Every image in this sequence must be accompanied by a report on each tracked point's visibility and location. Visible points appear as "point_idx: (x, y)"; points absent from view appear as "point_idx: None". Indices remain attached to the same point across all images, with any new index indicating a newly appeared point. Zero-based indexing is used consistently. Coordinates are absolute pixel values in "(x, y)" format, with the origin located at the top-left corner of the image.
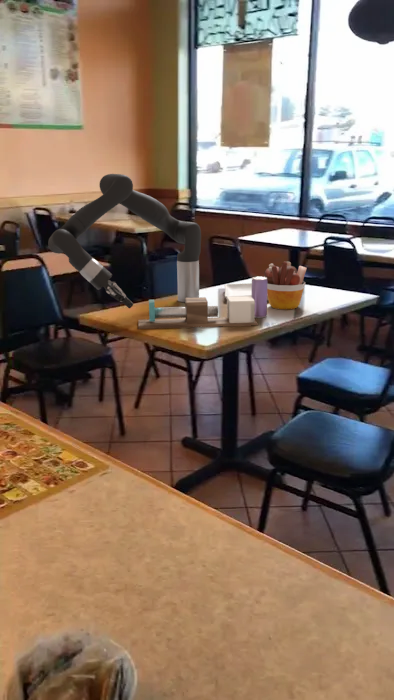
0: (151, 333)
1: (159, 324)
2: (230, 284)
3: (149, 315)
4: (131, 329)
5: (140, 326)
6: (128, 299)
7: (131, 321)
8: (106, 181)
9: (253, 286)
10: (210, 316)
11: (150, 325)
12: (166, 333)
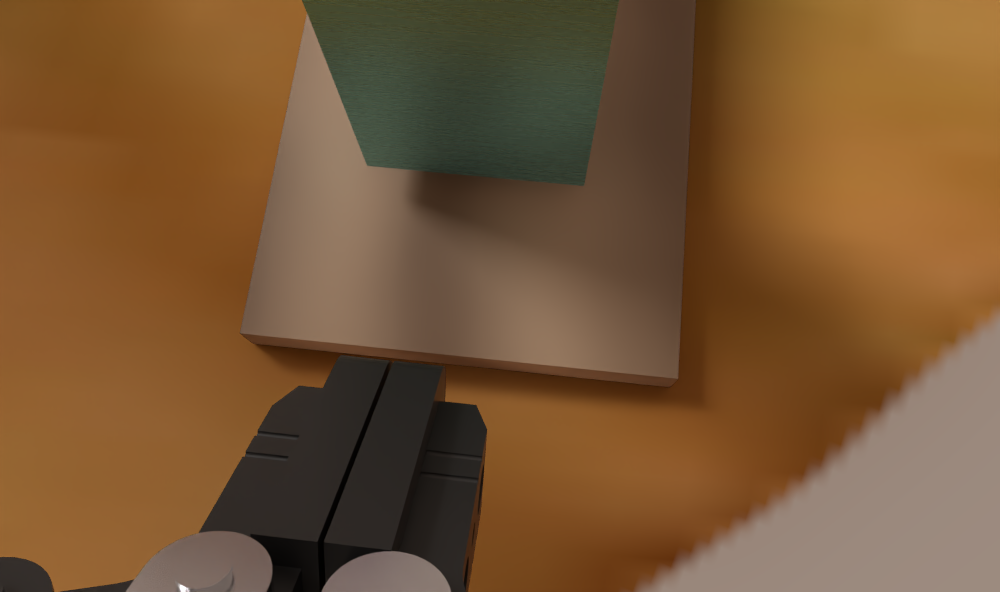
0: (955, 234)
1: (626, 76)
2: None
3: (590, 136)
4: (682, 497)
5: (677, 348)
6: (359, 468)
7: (159, 450)
8: None
9: None
10: None
11: (663, 199)
12: (968, 54)
